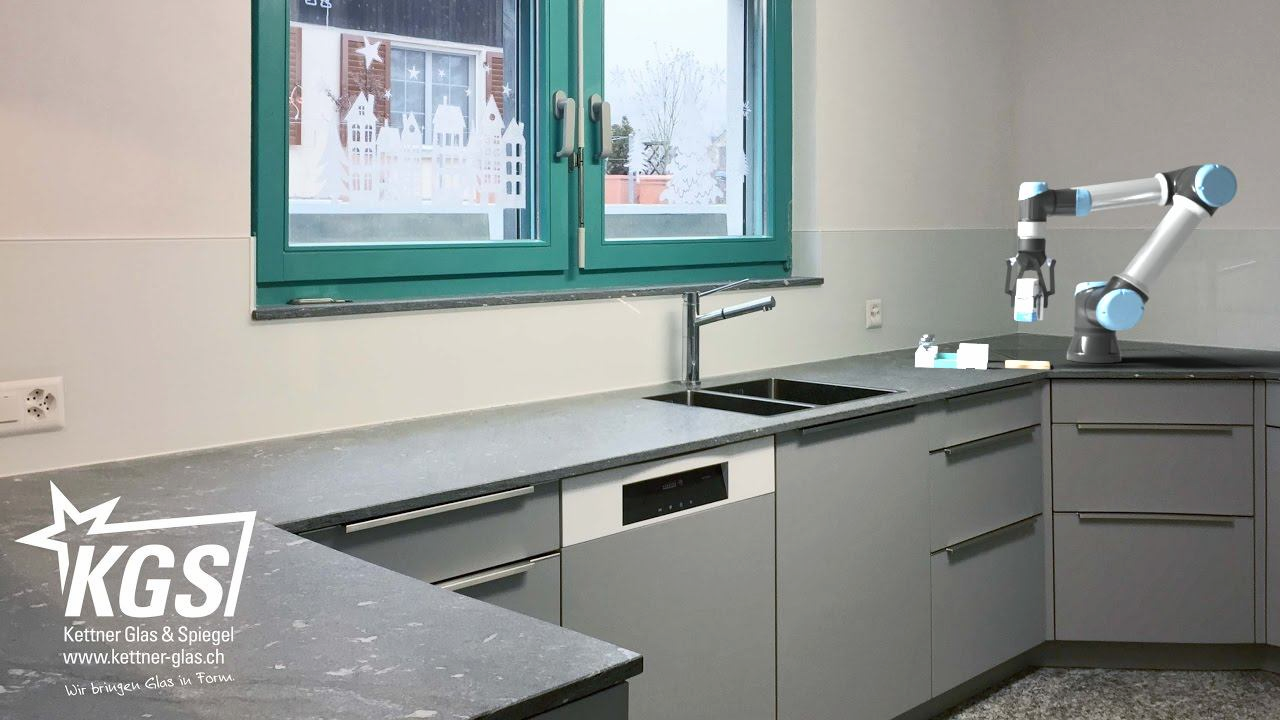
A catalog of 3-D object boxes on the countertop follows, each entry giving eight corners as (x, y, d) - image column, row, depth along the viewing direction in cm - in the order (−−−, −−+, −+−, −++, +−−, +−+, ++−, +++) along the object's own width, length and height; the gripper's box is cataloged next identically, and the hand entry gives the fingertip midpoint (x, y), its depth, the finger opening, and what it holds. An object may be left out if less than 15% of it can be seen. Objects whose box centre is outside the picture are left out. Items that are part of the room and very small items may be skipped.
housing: (987, 361, 357) (988, 344, 356) (986, 369, 339) (986, 351, 338) (920, 359, 362) (920, 342, 362) (915, 366, 344) (915, 349, 344)
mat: (1048, 365, 347) (1049, 361, 347) (1049, 369, 338) (1050, 365, 338) (1005, 363, 351) (1005, 360, 351) (1005, 367, 341) (1005, 364, 341)
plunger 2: (932, 361, 349) (932, 337, 348) (931, 363, 346) (932, 338, 345) (919, 361, 350) (920, 337, 349) (918, 362, 347) (919, 338, 346)
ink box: (1032, 322, 338) (1033, 279, 337) (1014, 321, 341) (1016, 279, 339) (1042, 319, 345) (1043, 278, 343) (1025, 318, 348) (1026, 278, 346)
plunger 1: (934, 357, 358) (935, 334, 358) (933, 358, 355) (934, 335, 354) (921, 357, 359) (922, 333, 359) (921, 358, 356) (921, 334, 355)
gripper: (1067, 237, 341) (1063, 319, 344) (996, 237, 346) (993, 317, 349) (1068, 238, 334) (1064, 321, 336) (996, 237, 339) (993, 319, 342)
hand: (1028, 319), depth 343 cm, fingers closed on ink box, 6 cm apart
